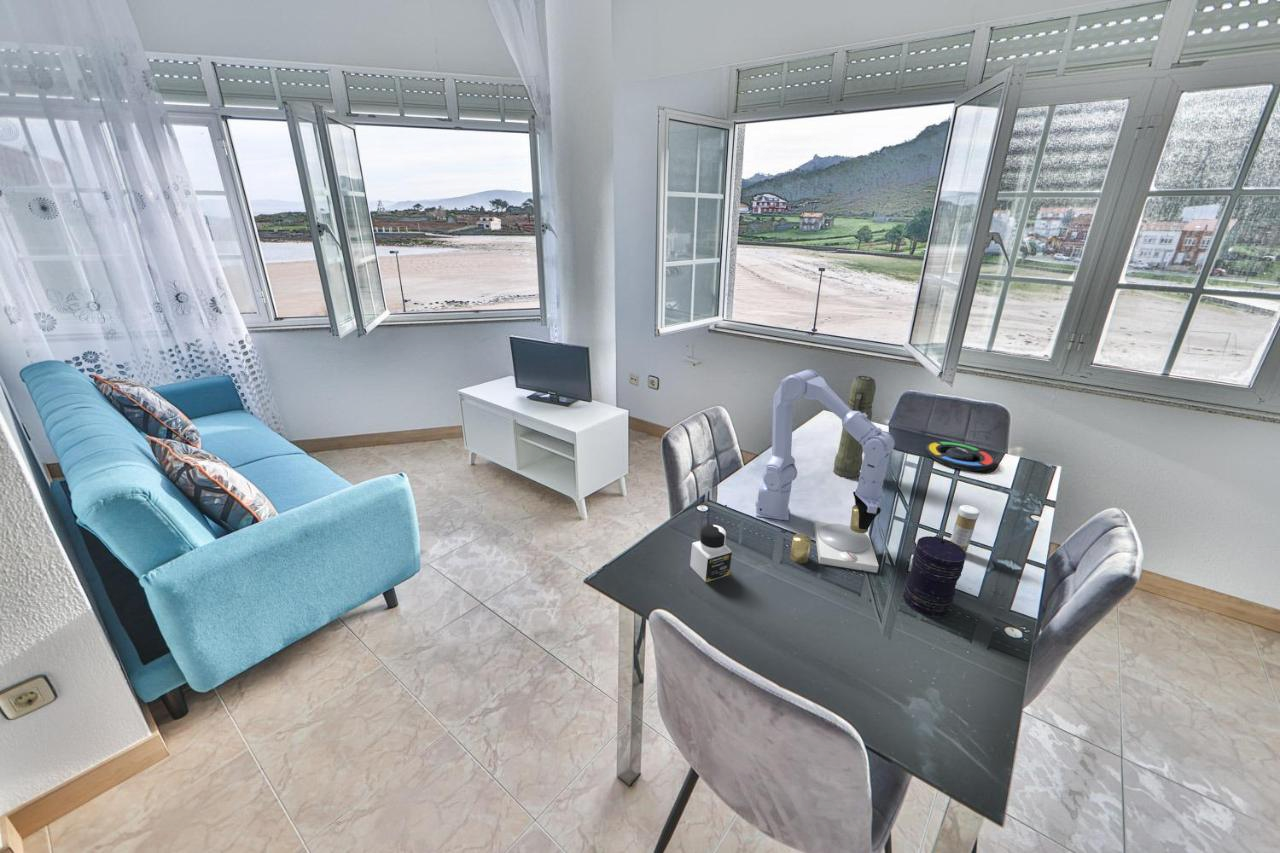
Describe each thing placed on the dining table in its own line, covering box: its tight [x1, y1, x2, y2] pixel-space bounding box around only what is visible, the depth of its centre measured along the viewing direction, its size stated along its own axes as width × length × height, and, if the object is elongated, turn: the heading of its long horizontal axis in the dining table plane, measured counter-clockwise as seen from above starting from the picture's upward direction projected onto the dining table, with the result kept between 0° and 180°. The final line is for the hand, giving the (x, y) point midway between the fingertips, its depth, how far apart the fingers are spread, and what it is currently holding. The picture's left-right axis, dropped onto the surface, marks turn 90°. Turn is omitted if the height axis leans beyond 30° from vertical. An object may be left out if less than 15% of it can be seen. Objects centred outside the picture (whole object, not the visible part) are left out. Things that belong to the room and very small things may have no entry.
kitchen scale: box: [813, 520, 880, 574], centre depth 140 cm, size 14×18×3 cm
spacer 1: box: [789, 533, 812, 564], centre depth 135 cm, size 4×4×6 cm
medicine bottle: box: [689, 524, 733, 583], centre depth 127 cm, size 7×7×12 cm
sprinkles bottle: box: [949, 504, 980, 554], centre depth 139 cm, size 5×5×13 cm
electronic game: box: [925, 440, 996, 472], centre depth 199 cm, size 23×23×5 cm
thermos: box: [832, 375, 877, 480], centre depth 179 cm, size 9×12×35 cm
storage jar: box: [902, 535, 967, 618], centre depth 119 cm, size 10×10×15 cm
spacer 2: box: [849, 504, 869, 533], centre depth 138 cm, size 4×4×6 cm
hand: (861, 523), depth 139 cm, fingers closed on spacer 2, 4 cm apart
